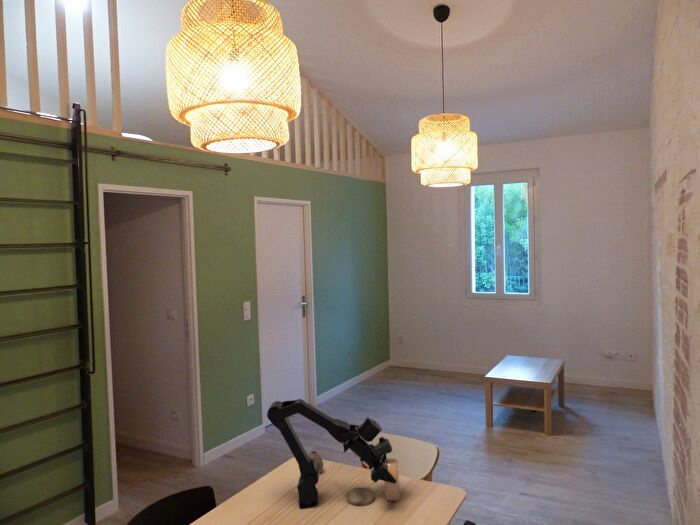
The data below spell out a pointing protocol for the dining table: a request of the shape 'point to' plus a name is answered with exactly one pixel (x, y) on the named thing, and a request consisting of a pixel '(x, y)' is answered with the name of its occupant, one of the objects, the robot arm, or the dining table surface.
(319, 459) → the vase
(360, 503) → the stand
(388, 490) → the tan tapered cylinder
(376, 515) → the dining table surface
